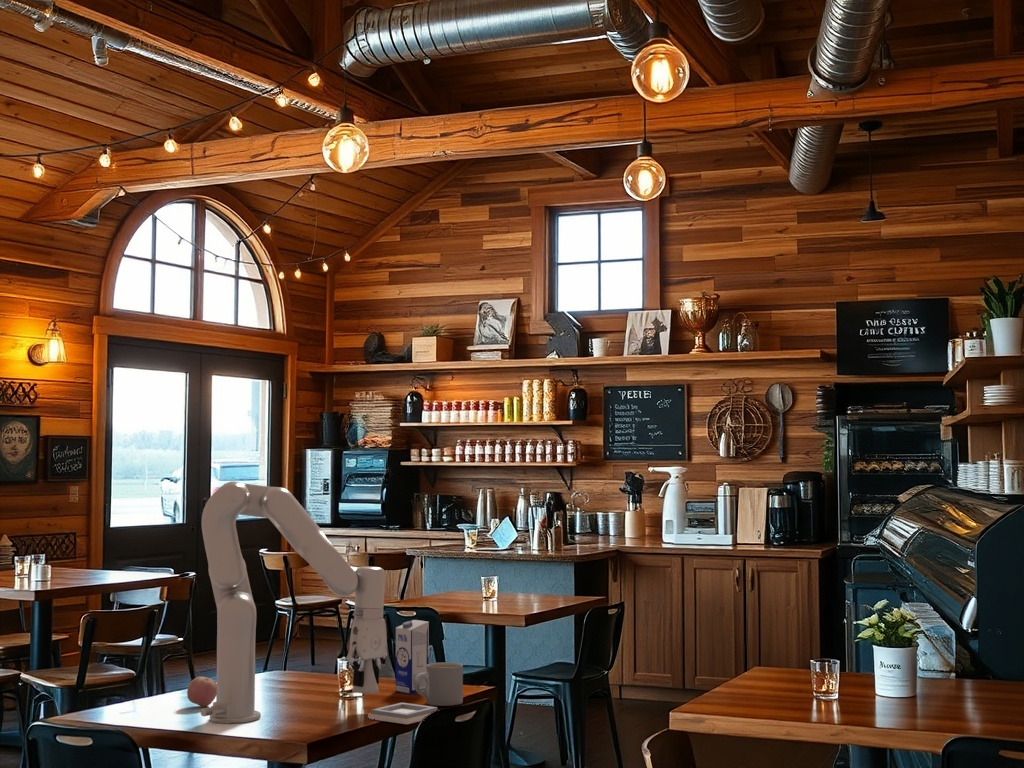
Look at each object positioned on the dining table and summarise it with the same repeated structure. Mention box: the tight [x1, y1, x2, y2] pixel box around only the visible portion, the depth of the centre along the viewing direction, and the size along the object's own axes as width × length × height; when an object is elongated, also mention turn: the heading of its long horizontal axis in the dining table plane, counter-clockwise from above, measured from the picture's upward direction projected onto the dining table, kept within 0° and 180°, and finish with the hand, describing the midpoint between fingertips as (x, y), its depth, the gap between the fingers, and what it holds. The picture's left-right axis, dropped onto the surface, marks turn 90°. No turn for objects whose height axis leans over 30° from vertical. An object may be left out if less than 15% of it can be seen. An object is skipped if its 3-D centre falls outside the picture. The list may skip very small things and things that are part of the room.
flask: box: [351, 659, 380, 694], centre depth 313 cm, size 7×7×10 cm
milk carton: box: [395, 619, 430, 695], centre depth 344 cm, size 7×7×20 cm
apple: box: [186, 676, 217, 708], centre depth 321 cm, size 8×8×8 cm
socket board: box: [367, 702, 439, 725], centre depth 305 cm, size 13×13×2 cm
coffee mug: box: [414, 661, 464, 707], centre depth 326 cm, size 13×10×10 cm
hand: (365, 684), depth 312 cm, fingers closed on flask, 5 cm apart
